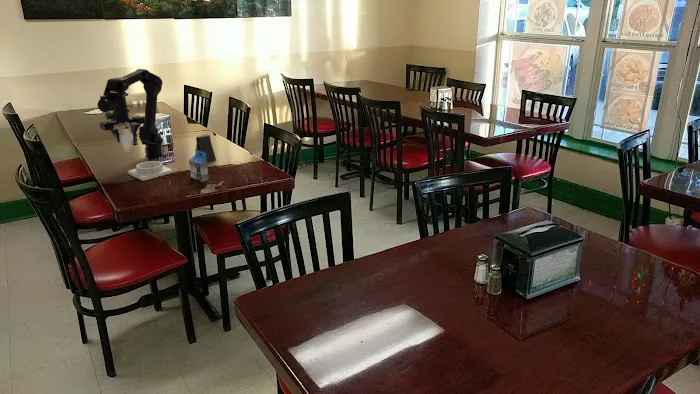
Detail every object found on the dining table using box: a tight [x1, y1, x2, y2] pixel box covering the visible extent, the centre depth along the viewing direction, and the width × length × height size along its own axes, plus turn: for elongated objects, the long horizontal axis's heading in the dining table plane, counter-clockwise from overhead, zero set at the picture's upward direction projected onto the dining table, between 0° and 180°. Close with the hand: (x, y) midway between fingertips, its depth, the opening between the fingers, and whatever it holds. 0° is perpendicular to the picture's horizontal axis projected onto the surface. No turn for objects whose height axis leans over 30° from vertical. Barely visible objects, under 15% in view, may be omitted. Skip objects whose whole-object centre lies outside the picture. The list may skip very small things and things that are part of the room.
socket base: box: [127, 160, 173, 182], centre depth 230 cm, size 14×14×4 cm
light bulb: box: [118, 129, 134, 154], centre depth 234 cm, size 7×7×11 cm
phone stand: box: [195, 134, 217, 163], centre depth 247 cm, size 9×6×12 cm, turn 46°
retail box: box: [188, 148, 209, 183], centre depth 221 cm, size 9×4×12 cm, turn 47°
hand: (126, 141), depth 234 cm, fingers closed on light bulb, 6 cm apart
